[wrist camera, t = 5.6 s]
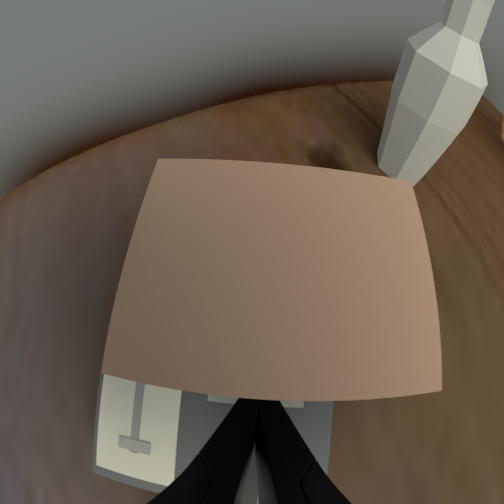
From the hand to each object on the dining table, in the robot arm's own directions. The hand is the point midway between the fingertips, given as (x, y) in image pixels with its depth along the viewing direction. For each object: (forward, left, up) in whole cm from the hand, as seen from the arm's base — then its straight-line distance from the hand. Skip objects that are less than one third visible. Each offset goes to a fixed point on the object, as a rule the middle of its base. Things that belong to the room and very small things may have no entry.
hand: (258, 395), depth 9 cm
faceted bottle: (+21, +5, -7) cm, 23 cm away
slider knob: (+1, +1, -3) cm, 4 cm away
